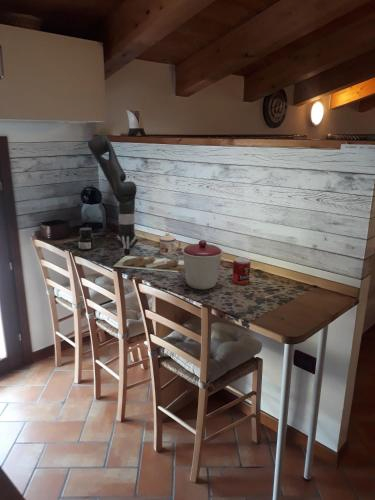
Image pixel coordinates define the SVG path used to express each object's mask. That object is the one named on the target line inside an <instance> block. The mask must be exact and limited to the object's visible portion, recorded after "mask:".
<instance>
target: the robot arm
mask: <svg viewBox="0 0 375 500" xmlns="http://www.w3.org/2000/svg"><path fill="white" fill-rule="evenodd" d="M87 145H88V148H89V150H90V152H91V154H92V156H93V157H94V158H95V161H97V164H98V165H99V167H100V169H101V171H102V173H103V175H104V177H105V178H106V180H107V181H108V183H109V184H108V185H110V187H111V190H112V192H113V194H114V197H115V199H116V201H117V202H118V231H119V233H118V235H117V236H115V237H114V240H115V242H116V243H117V244H118V246H119V247H120V248H123V254H124V255H125V256H131V249H133V248H134V247H135V246H136V244H137V243H138V242H139V241H140V238H139V237H137V236H136V231H135V229H136V227H135V223H136V222H135V209H136V206H135V205H136V195H137V192H138V191H137V190H138V189H137V185H136V183H135V182H134V181H126V180H127V174H126V173H125V171H124V169H123V168H122V166H121V163H120V162H119V159H118V157H117V154H116V151H115V150H114V147H113V145H112V143H111V140H110V139H109V137H108V136H107V135H106V134H105V133H102V134H99V135H98V136H97V135H96V136H95V137H93V138H92V139H90V140H88V141H87ZM107 153H108V158H105V157H104V156H103V155H105V154H107ZM125 256H124V257H125Z"/></svg>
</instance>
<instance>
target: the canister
mask: <svg viewBox="0 0 375 500" xmlns="http://www.w3.org/2000/svg"><path fill="white" fill-rule="evenodd" d="M181 253H182V254H183V261H184V264H183V265H184V266H185V272H184V273H185V281H186V284H187V285H188V286H189V287H190V288H191V289H196V290H210V289H212V288H214V287H215V286H216V284H217V282H218V277H219V272H220V266H221V260H222V255H223V253H224V250H223V249H222V248H220V247H218V246H217V245H213V244H210V243H207V241H206V240H204V239H201V240H199V241H198V243H194V244H189V245H187V246H185V247H183V248H182V250H181Z"/></svg>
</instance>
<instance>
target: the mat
mask: <svg viewBox="0 0 375 500" xmlns="http://www.w3.org/2000/svg"><path fill="white" fill-rule="evenodd" d="M137 257H138V256H134V255H129V256H123V257H121V259H120V260H118V261H117V262H116V263H115V264H114V265H113V267H116V268H117V267H118V268H127V269H139V270H149V271H160V272H173V273H179V271H172V270H169V267H166V268H162V269H158V268H157V266H154V267H150V268H147V267H146V265H143V266H138V267H135V266H134V264H131V265H127V266H123V262H124V261H125V260H128V259H132V258H137ZM148 258H149V257H145V256H144V259H148ZM155 259H156V260H159V259H160V258H159V257H158V258H157V257H155ZM167 260H168V261H170V260H171V259H169V258H167ZM178 261H179V263H178V264H180V265H184V260H179V259H178Z"/></svg>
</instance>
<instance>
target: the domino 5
mask: <svg viewBox="0 0 375 500" xmlns="http://www.w3.org/2000/svg"><path fill="white" fill-rule="evenodd" d="M169 270H172V271H178V272H184V273H185V266H184V264H183V265H180V264H177V265H176V266H171V267H169Z"/></svg>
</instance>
